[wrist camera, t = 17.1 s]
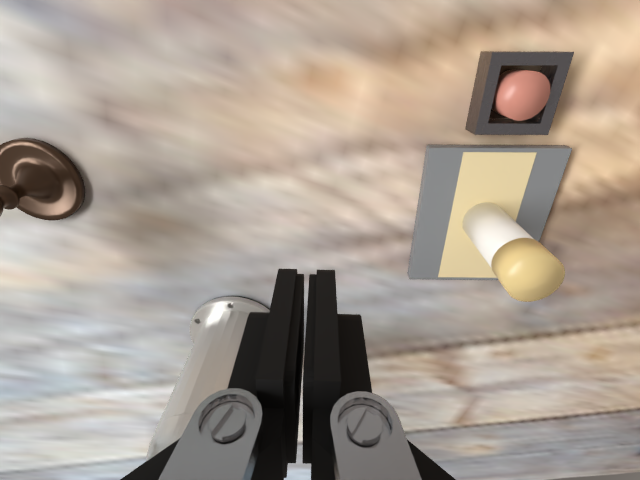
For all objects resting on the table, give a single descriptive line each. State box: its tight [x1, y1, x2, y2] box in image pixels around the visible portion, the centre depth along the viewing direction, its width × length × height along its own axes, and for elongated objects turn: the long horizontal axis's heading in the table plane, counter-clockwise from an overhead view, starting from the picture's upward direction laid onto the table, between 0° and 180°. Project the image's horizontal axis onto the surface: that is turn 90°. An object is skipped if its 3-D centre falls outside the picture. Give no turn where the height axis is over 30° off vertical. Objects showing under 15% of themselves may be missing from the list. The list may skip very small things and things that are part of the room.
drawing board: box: [408, 145, 572, 280], centre depth 39 cm, size 16×14×1 cm
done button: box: [491, 69, 550, 121], centre depth 31 cm, size 4×4×3 cm
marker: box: [462, 202, 565, 302], centre depth 33 cm, size 5×5×11 cm
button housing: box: [465, 52, 574, 135], centre depth 32 cm, size 7×7×2 cm
